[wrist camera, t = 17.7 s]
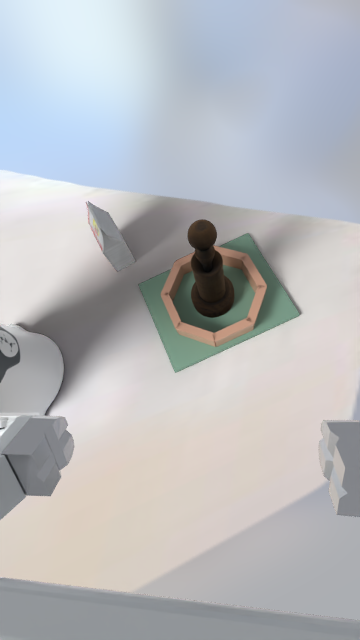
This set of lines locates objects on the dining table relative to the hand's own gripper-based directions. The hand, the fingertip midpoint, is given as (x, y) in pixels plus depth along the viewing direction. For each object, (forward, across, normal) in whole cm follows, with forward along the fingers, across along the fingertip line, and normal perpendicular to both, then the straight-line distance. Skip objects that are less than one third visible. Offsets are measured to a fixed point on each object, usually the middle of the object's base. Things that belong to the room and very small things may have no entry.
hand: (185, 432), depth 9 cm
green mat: (+37, +1, +10) cm, 38 cm away
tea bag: (+44, +18, +3) cm, 48 cm away
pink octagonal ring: (+37, +1, +10) cm, 38 cm away
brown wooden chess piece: (+36, +1, +10) cm, 38 cm away
